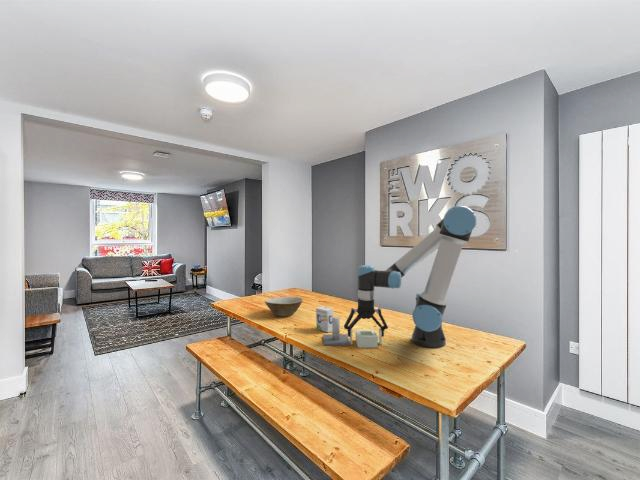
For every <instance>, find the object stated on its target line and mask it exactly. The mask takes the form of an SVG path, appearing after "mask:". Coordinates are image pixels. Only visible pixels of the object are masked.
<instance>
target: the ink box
mask: <svg viewBox="0 0 640 480" xmlns="http://www.w3.org/2000/svg"><path fill="white" fill-rule="evenodd" d="M315 316H316V317H315V321H316V322H315V323H316V330H318V331H321V332H325V333H331V332H332V318H333V317H334V309H333V308H331V307H327V306H323V305H322V306H319V307H315Z"/></svg>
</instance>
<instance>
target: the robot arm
mask: <svg viewBox="0 0 640 480" xmlns="http://www.w3.org/2000/svg"><path fill="white" fill-rule="evenodd" d="M476 225H477V216H476V214H475V212H474V211H473V209H471V208H469V206H468V207H467V206H465V205H455V206H452V207H451V208H449V209H447V210H446V212H445V214H444V216H443V218H442V219H441V220H440V221H439V222H438V223H437V224H436V225H435V228H434V229H433V230H432V231H431V232H430V233H428V234H427V235H426V236H425V237H424V238H423V239H421V240H420V241H419V242H418V243H417V244H415V245H414V246H413V247H412V248H411V249H409V250H408V251H407V252H406V253H405V254H404V255H402V256H401V258H399V259H398V260H397V261H395V262H394V263H393V264H391V265H390V266H389V267H388V268H387V269H386V270H377V269H375V266H374V265H371V264H370V265H368V264H365V265H364V264H362V265H359V267H358V272H357V286H358V287H357V298H358V299H357V309H355V308H352V307H351V308H350V313H349V316H348V317H347V319H346V321H345V322H344V325H343V328H344V330H347V335H348V338H349V343H350V345H353V327H355V326H356V324H357V323H359V321H360V320H361V319H362V320H365V319H367V320H370V319H371V320H373V321H374V323H375V324H376V325H377V326H378V344H379V345H382V344H383V339H382V338H384V337H385V330H388V329H389V326H388V325H387V322H386V320H385V319H384V316H383V315H382V310H381V308H380V307H378V308H376V309H375V299H374V298H375V288H387V289H401V286H402V278H403V277H405V276H406V275H407V274H408V273H409V272H410V271H412V270H413V269H414V268H415V267H417V266H418V265H419V264H420V263H422V262H423V261H424V260H426V259H427V258H428V257H429V256H430V255H432V254H433V253H434V252H435V251H436V250H437V251H436V254H435V258H434V261H433V264H432V266H431V269H430V273H429V275H428V276H429V277H428V280H427V282H426V285H425V288H424V291H423V292H418V293H416V295H415V307H414V310H413V311H412V321H413V323H414V324H415V325H414V329H413V331H412V335H411V341H412V343H414V344H415V345H418V346H421V347H425V348H442V347H444V346H446V344H447V343H446V340H447V339H446V336H445V332H444V330H443V325H442V324H443V317H444V315H445V310H446V308H447V305H448V304H447V303H448V302H447V301H446V295H447V293H448V290H449V287H450V285H451V282H452V278H453V277H454V276H453V275H454V272H455V270H456V267H457V263H458V260H459V257H460V254H461V252H462V248H463V246H464V245H465V244H467V243H469V241H470V238H471V235H472V233H473V230H474V229H475V228H476ZM356 313H357V315H356V317H355V318H354V315H355V314H356ZM375 313H376V314H377V315H378V316H379V318H380V320H381V322H382V324H383V325H382V324H381V323H380V322H379V321H378V319H377V318H376V317H375V316H374V315H375ZM353 318H354V319H353ZM352 319H353V320H352Z"/></svg>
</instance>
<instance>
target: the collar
mask: <svg viewBox="0 0 640 480" xmlns="http://www.w3.org/2000/svg"><path fill="white" fill-rule="evenodd" d="M355 343H356V346H357V348H365V349H367V348H368V349H369V348H370V349H371V348H373V349H374V348H379V335H377V332H376V330H375V329H355Z"/></svg>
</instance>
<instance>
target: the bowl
mask: <svg viewBox="0 0 640 480" xmlns="http://www.w3.org/2000/svg"><path fill="white" fill-rule="evenodd" d="M303 300H304V299H303V298H302V297H297V296H282V297H281V296H280V297H279V296H278V297H274V298H268V299H266V300H264V303H265V305H266V306H267V307H268V309H269V310H270V311H271V313H273V315H275V316H277V317H291V316H292V315H294V314H295V313H296V312H297V311H298V309H299V308H300V307H301V304H302V303H303Z"/></svg>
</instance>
